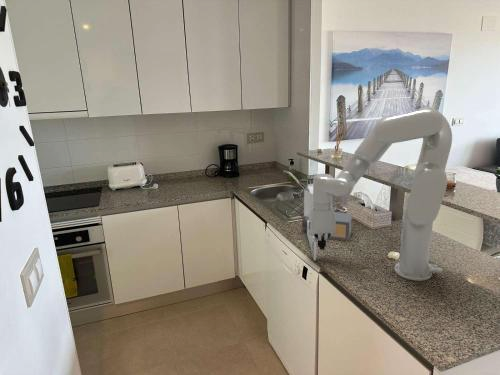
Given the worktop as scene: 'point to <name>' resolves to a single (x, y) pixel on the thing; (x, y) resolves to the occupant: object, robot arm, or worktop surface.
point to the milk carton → (308, 199)
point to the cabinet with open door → (337, 226)
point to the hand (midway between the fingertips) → (321, 248)
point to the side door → (311, 242)
